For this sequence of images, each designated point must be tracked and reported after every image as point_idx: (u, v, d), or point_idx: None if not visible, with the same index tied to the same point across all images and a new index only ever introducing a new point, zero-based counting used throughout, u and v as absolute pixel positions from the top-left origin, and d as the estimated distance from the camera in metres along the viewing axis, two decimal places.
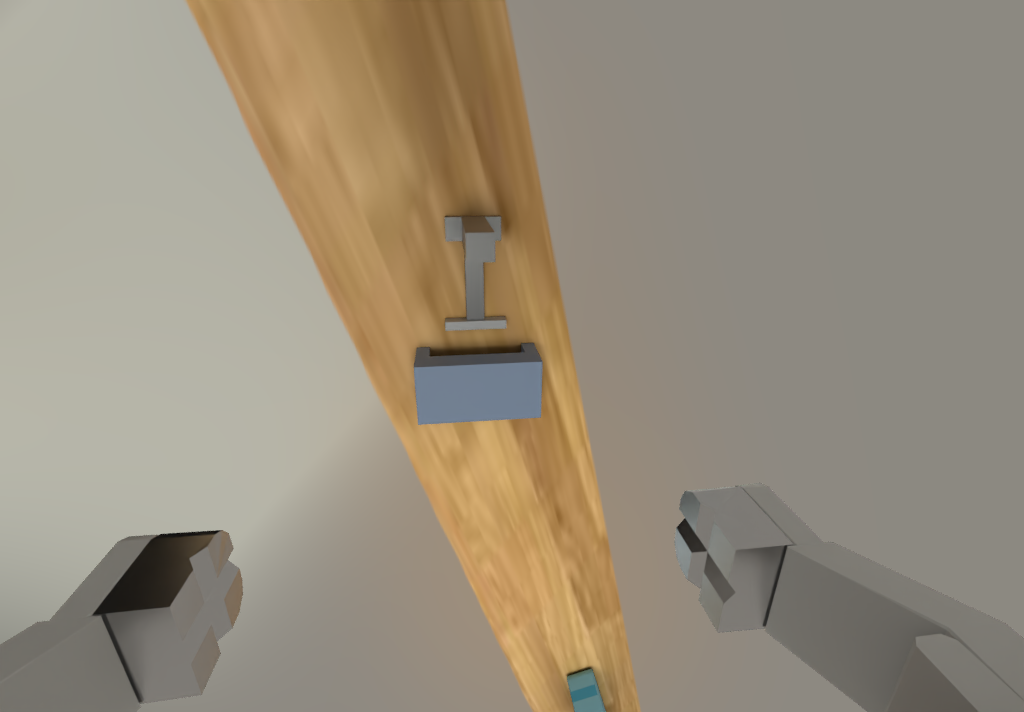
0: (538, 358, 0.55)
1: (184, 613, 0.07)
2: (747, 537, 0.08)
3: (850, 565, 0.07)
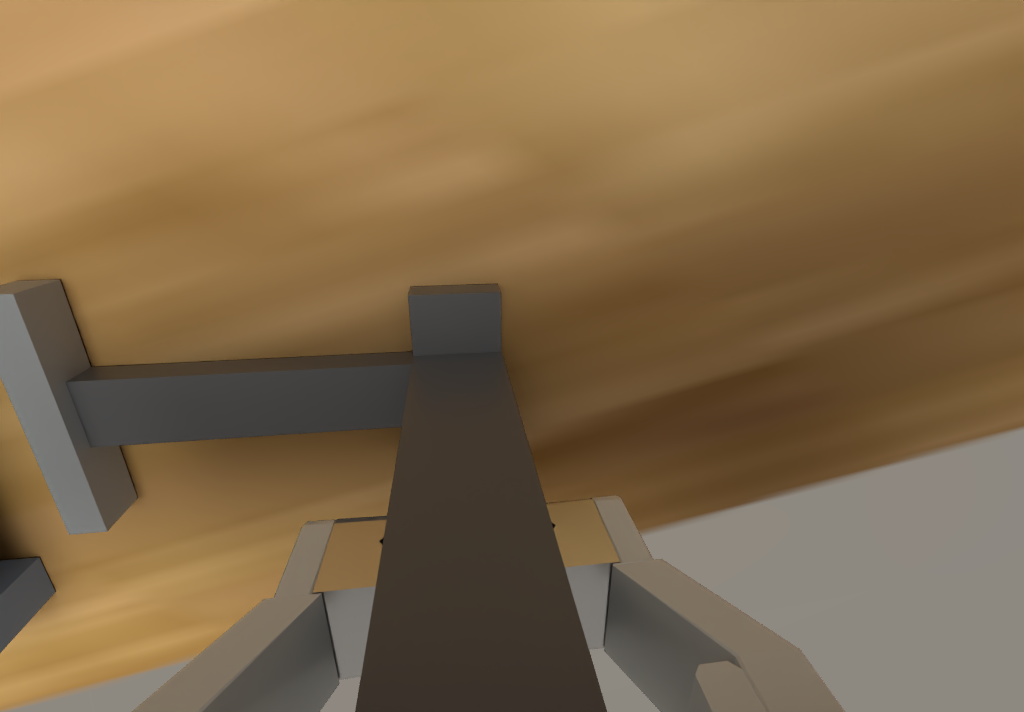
0: None
1: None
2: (576, 554, 0.07)
3: (667, 585, 0.07)
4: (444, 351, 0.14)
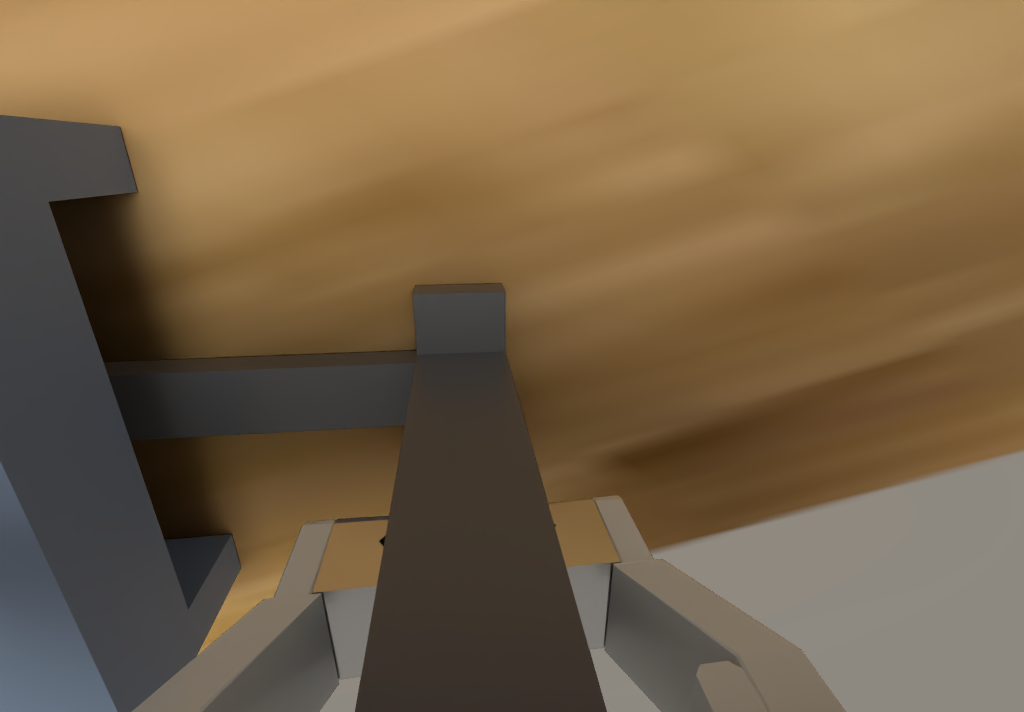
0: None
1: None
2: (577, 554, 0.07)
3: (669, 584, 0.07)
4: (448, 350, 0.14)
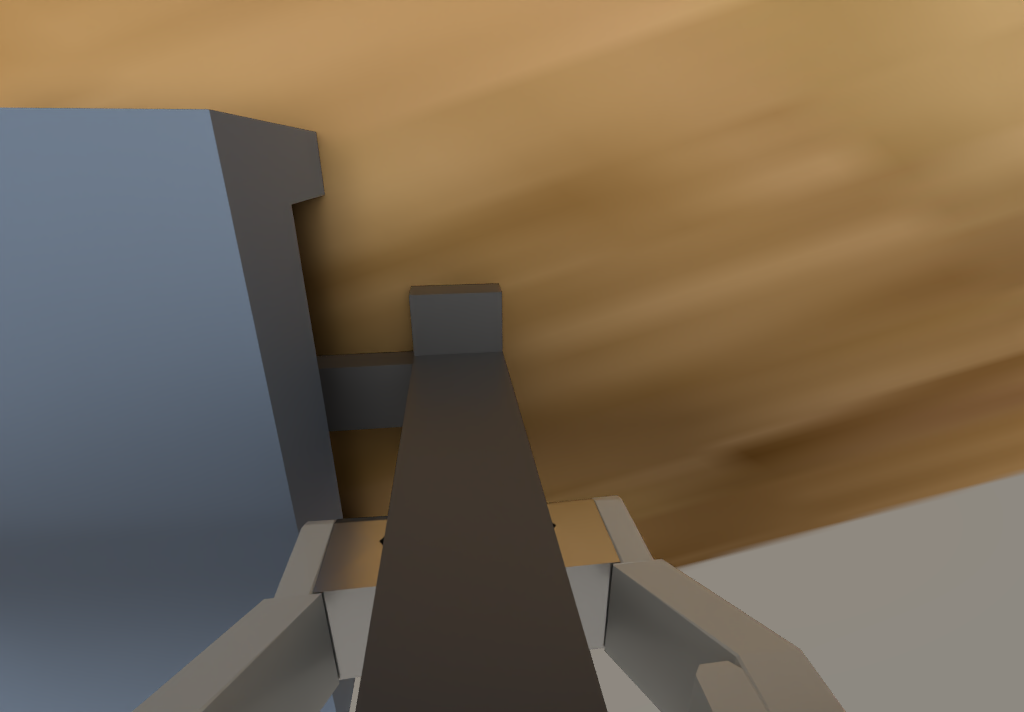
0: (349, 698, 0.13)
1: None
2: (577, 554, 0.07)
3: (668, 584, 0.07)
4: (445, 351, 0.14)
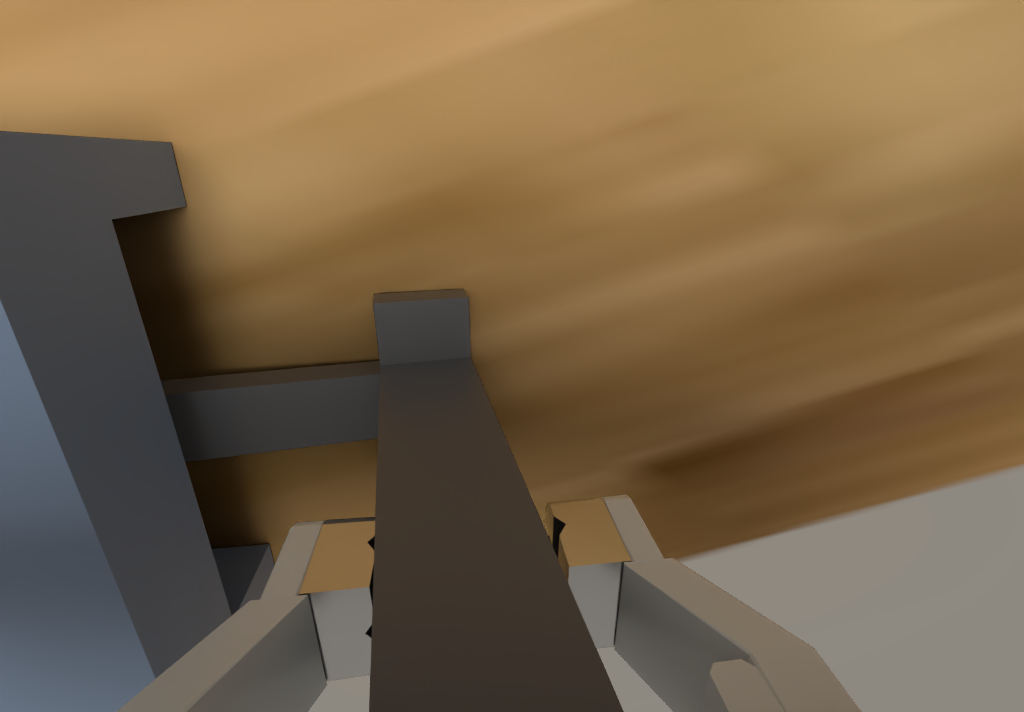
0: None
1: None
2: (587, 553, 0.07)
3: (680, 583, 0.07)
4: (412, 359, 0.13)
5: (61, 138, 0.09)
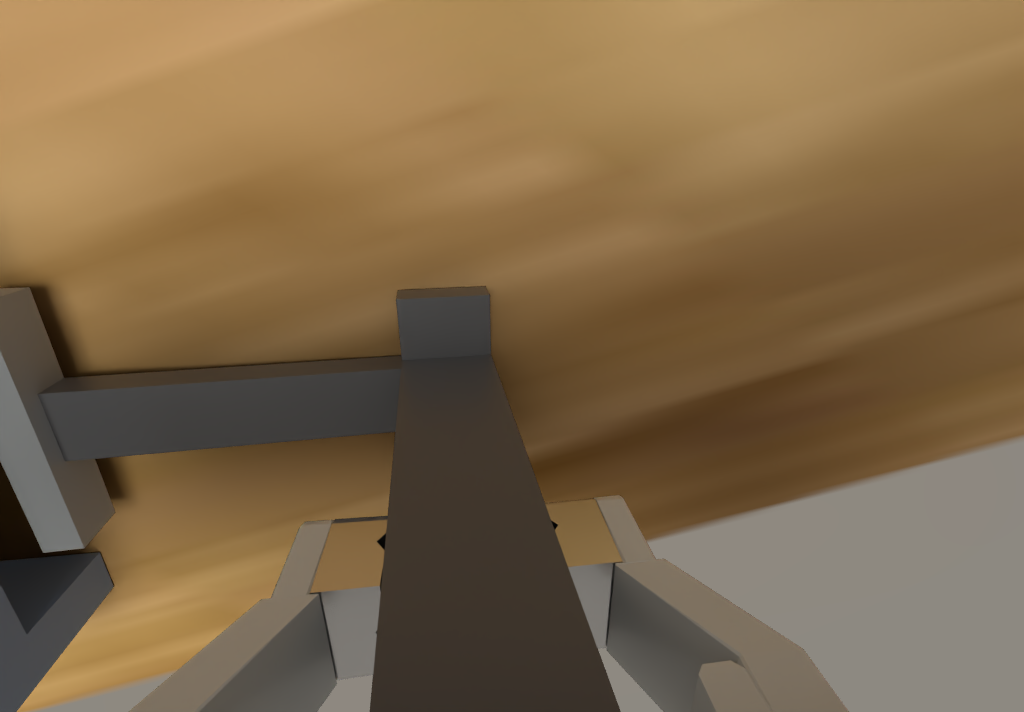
0: None
1: None
2: (579, 554, 0.07)
3: (671, 585, 0.07)
4: (433, 355, 0.14)
5: None
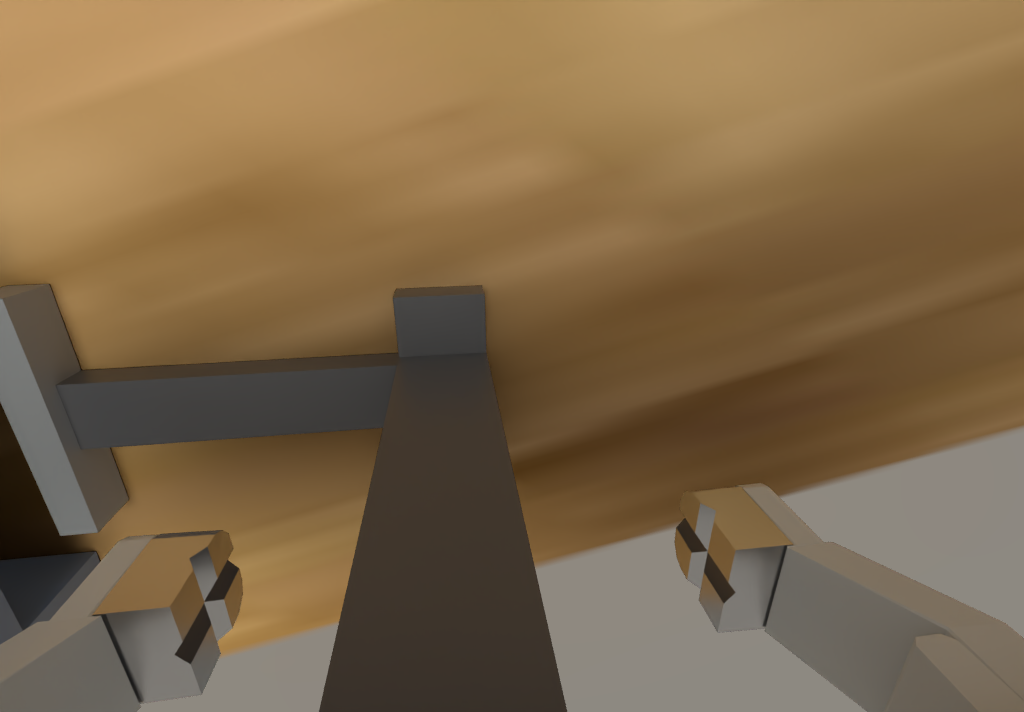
0: None
1: (184, 613, 0.07)
2: (747, 537, 0.08)
3: (851, 565, 0.07)
4: (429, 352, 0.14)
5: None
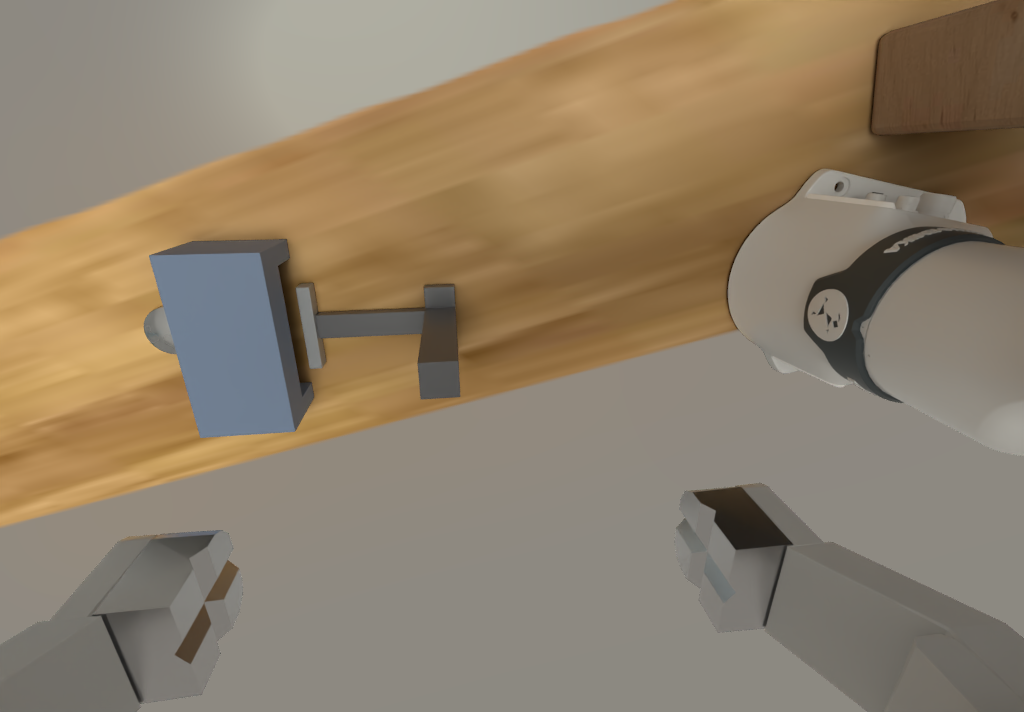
0: (297, 422, 0.39)
1: (184, 613, 0.07)
2: (747, 537, 0.08)
3: (850, 564, 0.07)
4: (435, 306, 0.41)
5: (271, 247, 0.35)
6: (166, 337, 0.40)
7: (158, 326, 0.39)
